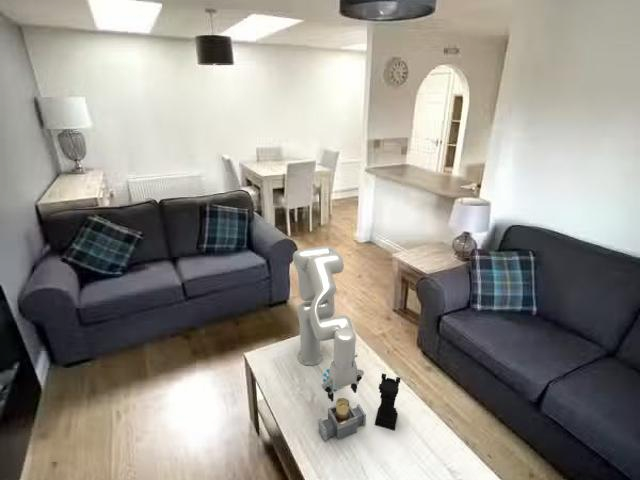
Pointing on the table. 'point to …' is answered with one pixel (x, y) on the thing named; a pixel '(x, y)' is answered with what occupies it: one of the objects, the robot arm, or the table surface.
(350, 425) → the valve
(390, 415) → the chess piece
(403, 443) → the table surface
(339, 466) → the table surface
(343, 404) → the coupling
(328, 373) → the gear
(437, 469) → the table surface
